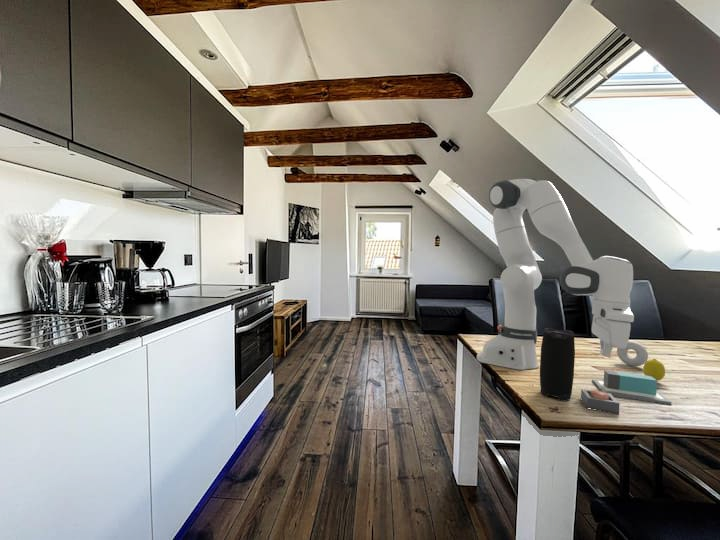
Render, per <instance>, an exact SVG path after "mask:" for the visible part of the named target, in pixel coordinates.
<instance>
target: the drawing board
mask: <svg viewBox="0 0 720 540" xmlns="http://www.w3.org/2000/svg"><path fill="white" fill-rule="evenodd" d="M591 382H592V383H593V384H594V385H595V386H596V388H597V389H598V388H599V389H598V391H602V392H605V393H611V394H612V396H613V397H617V398H625V399H630V398H632V399H631V400H636V399H638V400H637V401H643V400H645V401H644V402H649V401H652V402H651V403H656V402H658V403H657V404H662V403H664V404H663V405H668V404H670V405H669V406H672V405H673V404H672V403H673V402H672V401H671V400H670V399H668V398H667V397H666V396H664V395H663V394H661V393H660V391H658V390H657V392H656V395H651V394H644V393H637V392H631V391H624V390H617V389H611V388H607V387H606V386H605V385H604V379H603V380H602V379H596V378H592V380H591Z"/></svg>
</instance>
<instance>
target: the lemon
mask: <svg viewBox="0 0 720 540" xmlns="http://www.w3.org/2000/svg"><path fill="white" fill-rule="evenodd" d="M642 370H643V373H644V374H643V375H646V376H651V377H653V378H654V379H656V380H657V381H661V380H663V379H664V377H665V375H666V368H665V365H664V364H663V363H662V362H661V361H660V360H657V358H653V359H647V361H646V362H645V364H643V369H642Z"/></svg>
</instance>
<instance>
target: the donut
mask: <svg viewBox="0 0 720 540" xmlns="http://www.w3.org/2000/svg"><path fill="white" fill-rule="evenodd" d="M629 350H633V351H634V352H635V353H636V356H635V357H631V356H630V355H629V354H628V352H629ZM616 354H617V356H618V359H619V360H621V362H622V363H624V364H625V365H627V366H631V367H641V366H642V365H643V366H644V364H645V362H646V361H648V360H649V359H648V358H649V353H648V350H647V349H646V348H645V347H644V345H643V344H641V343H639V342H638V341H634V340H628V344H627V346H626V348H625V349H620V348H616Z"/></svg>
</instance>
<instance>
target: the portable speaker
mask: <svg viewBox="0 0 720 540" xmlns="http://www.w3.org/2000/svg"><path fill="white" fill-rule="evenodd" d="M575 347H576V346H575V332H574V331H572V330H569V329H564V330H562V329H555V328H553V327H545V328H543V333H542V340H541V346H540V359H539V361H540V362H539V387H540V394H541V395H542V396H544V397H548V396H552V397H554V398H555V397H556V398H557V399H558V400H559V399H560V400H559V401H561V400H567V401H569V399H570V400H571V399H572V398H571V397H572V392H573V386H574V384H573V383H574V378H575V377H574V375H575V360H576V359H575V358H576V348H575Z"/></svg>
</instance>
